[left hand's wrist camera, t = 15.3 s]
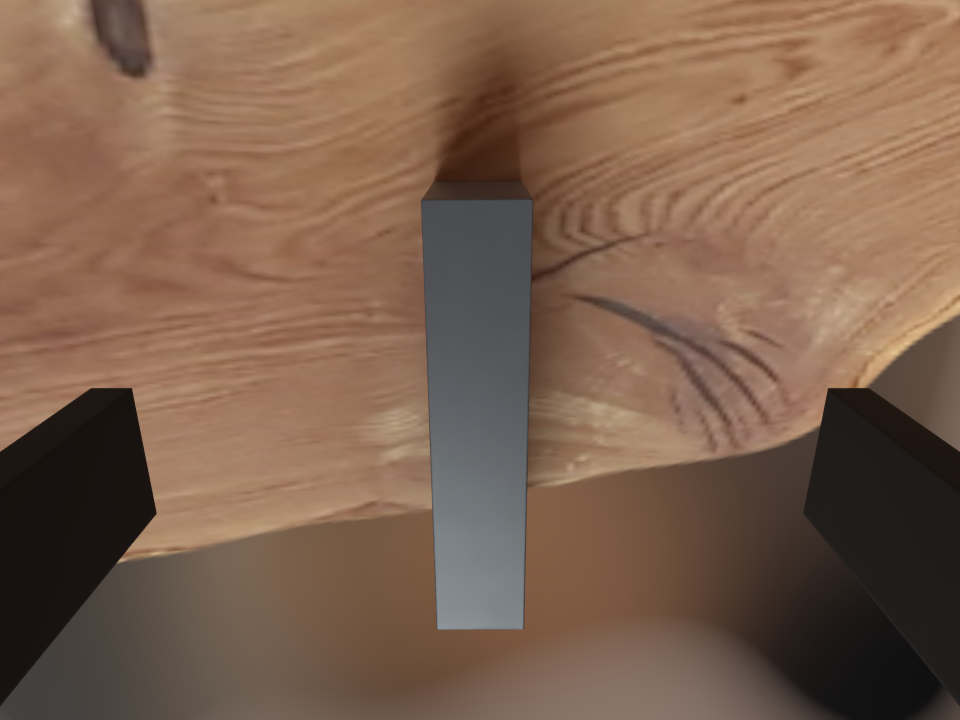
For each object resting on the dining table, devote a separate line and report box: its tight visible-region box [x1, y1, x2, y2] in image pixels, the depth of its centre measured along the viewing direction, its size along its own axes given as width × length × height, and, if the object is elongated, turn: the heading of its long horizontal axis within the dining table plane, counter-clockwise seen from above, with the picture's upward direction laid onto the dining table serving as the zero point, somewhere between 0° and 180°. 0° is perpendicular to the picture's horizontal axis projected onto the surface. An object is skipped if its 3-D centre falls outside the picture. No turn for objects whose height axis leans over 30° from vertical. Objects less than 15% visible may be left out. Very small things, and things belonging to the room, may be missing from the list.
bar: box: [421, 181, 533, 630], centre depth 35 cm, size 22×5×8 cm, turn 0°
